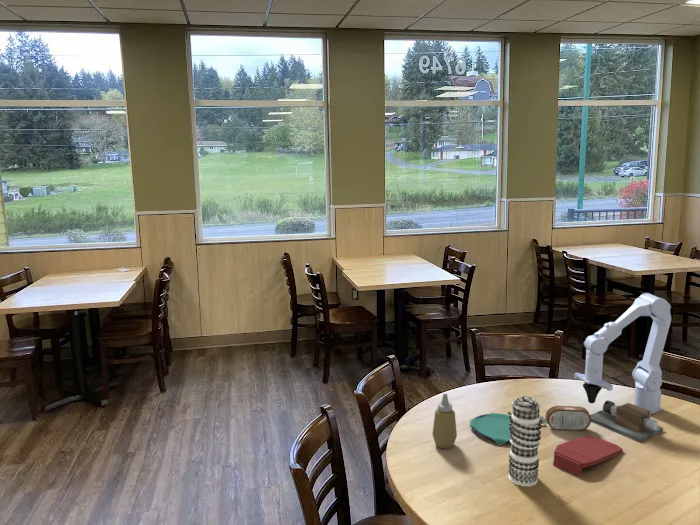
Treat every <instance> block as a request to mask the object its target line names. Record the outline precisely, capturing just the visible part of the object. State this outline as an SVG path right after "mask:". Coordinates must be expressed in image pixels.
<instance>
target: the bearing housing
mask: <svg viewBox="0 0 700 525" xmlns="http://www.w3.org/2000/svg"><path fill="white" fill-rule="evenodd" d="M618 406H619V405H618ZM650 412H651V411H650V410H647V409H644V408H642V407H639V406H636V405H634V403H630V402H627V403H624V404H622V405H620V406H619V407H617V409H616V415H615V414H613V413H612V414H609V413H606V412H604V411H603V409H601V410H599V411H596V412H594V413H591V414H590V416H591V423H593V424H596V425H599V426H601V427H603V428H606V429H608V430H611V431H612V432H615V433H618V434H619V435H622V436H624V437H627V438H629V439H631V440H633V441H636V442H638V443H641V442H643V441H646V440H647V439H649V438H652V437H653V436H655V435H657V434H660V433H661V432H663V431H664V427H662V426H660V425H658V427H657V428H656V429H654V430H653V429H651V428H648V427H646V426H643V425H641V421H642V418H643V417H645V416H646V417H648V418H651V415H650Z"/></svg>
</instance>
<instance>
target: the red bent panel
mask: <svg viewBox="0 0 700 525" xmlns="http://www.w3.org/2000/svg"><path fill="white" fill-rule="evenodd" d="M623 451H624V449H623V448H622V447H621V446H619V445H618V444H615V443H613V442H611V441H607V440H606V439H603V438H600V437H597V436H594V435H593V436H592V435H588V434H585V435H583V436H579V437H577V438H574V439H572V440H569V441H565V442H563V443H559V444H557V445H556V446H555V449H554V452H553V453H554V454H553V455H554V456H553V462H552V466H554V467H556V468H558V469H560V470H562V471H565V472H567V473H569V474H571V475H572V476H575V475H576V477H579V476H581V475H582V471H583V468H587V467H590V466H594V465H597V464H600V463H601V462H604V461H606V460H609V459H611V458H614V457H616V456H618V455H620V454H622V453H623Z"/></svg>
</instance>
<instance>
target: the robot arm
mask: <svg viewBox="0 0 700 525" xmlns="http://www.w3.org/2000/svg"><path fill="white" fill-rule="evenodd" d="M671 308H672V306H671V304H670V302H668V301H667V300H666V299H664V298H662V297H658V296H656V295H654V294H652V293H649V292H644V293H642V294H640V296H638V297H637V298H636V299H635V300H634V302H633V303H632V304H631V306H630V307H628V309H627V310H626V311H625V312H623V313H622V314H621V315H620V316H619V317H618V318H617V319H616V320H615V321H609V322H606V323H604V324H603V327H601V328H600V329H599V330H598V331H596V332H594V334H592V335H588V336H587V337H586V338H585V339H584V340H585V341H583V346H584V348H585V349H586V350H585V353H586V354H585V368H584V373H580V372H575V373H574V375H573V379H575V380H579V381H583V382H584V383H583V384H582V388H583V389H584V391H585V393H586V397H587V402H588V403H590V404H594V403H595V402H596V400H597V397H598V395H599V394H600V391H601V390H602V389H604V390H606V391H608V392H611V391H613V387H614V386H613V385H614V384H611V383H609V382H607V381H605V380H604V379H602V378H603V364H604V353H606V351H608V347H609V345H610V344H611V343H612V342H613V341H614V340H616V339H617V338H618V337H619V336H621V335H622V331H623V329H624V328H626V327H627V326H628V325H630V324H631V323H632V322H634V321H635V320H636V319H638V318H639V317H650V318H651V319H652V324H651V327H650V332H649V335H648V339H647V343H646V346H645V350H644V354H643V358H642V360H640V361H638V362H637V364H636V366H635V368H634V369H633V370H632V373H631V376H632V379H633V380H634V383H635V386H634V387H635V388H634V398H633V405H636V406H639V407H642V408H644V409H647V410H650V411H651V412H650V416H651V415H653V414H656V413H657V412H659V411H662V410H663V407H661V404H662V403H661V400H662V390H661V389H660V388H661V386H662V384H663V379H662V374H663V372H662V369H661V366H660V363H661V358H662V356H663V355H662V354H663V351H664V348H665V344H666V342H667V341H666V340H667V336H668V333H669V329H670V326H671V322H672V315H671Z"/></svg>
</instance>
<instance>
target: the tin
mask: <svg viewBox="0 0 700 525" xmlns="http://www.w3.org/2000/svg"><path fill="white" fill-rule="evenodd" d="M590 415H591V414H590V412H589V411H588V409H586V408H585V407H582V406H571V405H554V406H551V407H550V408H548V410H547V411H546V413H545V417H544V418H545V419H546V421H547V423H548V426H549V427H550V428H551V429H553V430H556V431H569V432H571V431H572V432H573V431H574V432H581V431H584V430H587V429H588V428H589V427H590V425H591V423H592V422H591V416H590ZM547 423H546V424H547Z"/></svg>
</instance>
